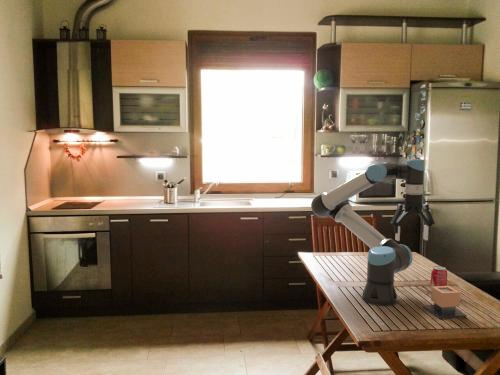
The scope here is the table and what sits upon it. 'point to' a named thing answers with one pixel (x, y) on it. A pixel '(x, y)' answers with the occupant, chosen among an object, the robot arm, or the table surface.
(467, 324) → the table surface
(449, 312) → the post stand
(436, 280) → the soda can
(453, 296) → the collar
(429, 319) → the table surface
